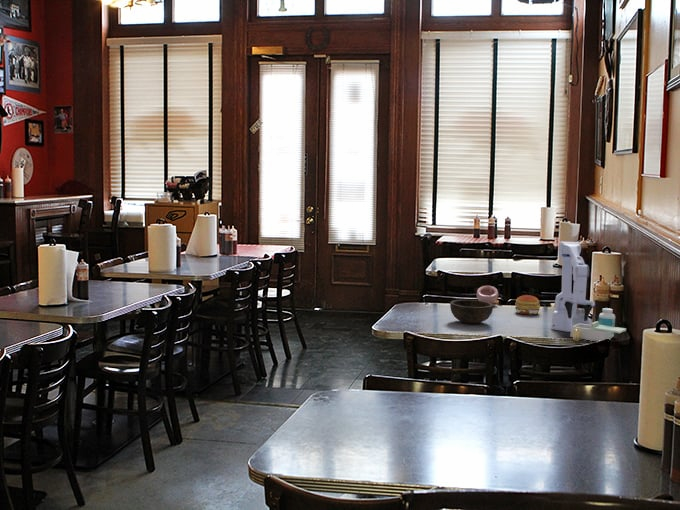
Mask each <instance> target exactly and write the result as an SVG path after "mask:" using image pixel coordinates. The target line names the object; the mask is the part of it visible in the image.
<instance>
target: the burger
mask: <svg viewBox="0 0 680 510" xmlns="http://www.w3.org/2000/svg"><path fill="white" fill-rule="evenodd" d="M514 304H515V307H514V309H515V311H516V313H518V314H521V315H522V314H523V315H537V314H538V313H539V311H540V308H541V304H540V300H539V299H538V298H537V297H536V296H533V295H531V294H530V295H529V294H524V295H521V296H518V297H517V298H516V299H515V303H514Z"/></svg>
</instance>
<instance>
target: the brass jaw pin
mask: <svg viewBox="0 0 680 510" xmlns="http://www.w3.org/2000/svg"><path fill="white" fill-rule="evenodd" d="M573 340H574V341H573ZM579 340H580V329H574V332H573V338H572V341H573V342H575V341H577V342H578V341H579ZM577 342H576V343H577ZM579 342H580V341H579Z"/></svg>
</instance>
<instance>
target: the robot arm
mask: <svg viewBox="0 0 680 510" xmlns="http://www.w3.org/2000/svg"><path fill="white" fill-rule="evenodd" d="M581 252H582V244H581V242H580V241H577V242H576V241H560V242H559V244H558V252H557V254H558V258H559V259H561V262H562V265H561V268H562V269H561V270H562V271H561V292H560V293H557V295H556V296H555V301H554V309H555V310H554V311H553V313H552V317H551V327H550V329H551V330H556V331H560V332H561V331H562V332H567V333H568V332H570V333H571V326H573V317H574V316H573V315H574V314H575V312H576V311H577V309H578V308H577V307H578V305H583V309H584V315H583V316H584V317H583V321H585V322H587V321H588V318H589V315H590V313H591V312H592V310H593V308H594V307H595V305H596V301H592V300H588V299H586V297H587V296H586V295H587V283H588V282H587V281H588V278H589V275H590V267H589V265H588V264H586V263H585V260H584V258H583V257H582V256H580V254H581ZM572 276H573V277H572ZM572 281H573V284H572ZM572 285H573V290H572Z"/></svg>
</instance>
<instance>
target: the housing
mask: <svg viewBox="0 0 680 510" xmlns="http://www.w3.org/2000/svg"><path fill="white" fill-rule="evenodd" d="M590 327H591V324H585V323H581V322H580V323H579V322H578V323H576V324H574V325H573V324H572V326H571V331H570V335H569V338H570V337H573V332H574V329H580V338H581V339H586V340H590V341H589V342H592V341H599V340H604V339H609V340H610V341H611V340H612V338H611V332H607V331H600V330H595V329H590ZM586 340H585V341H586Z"/></svg>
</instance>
